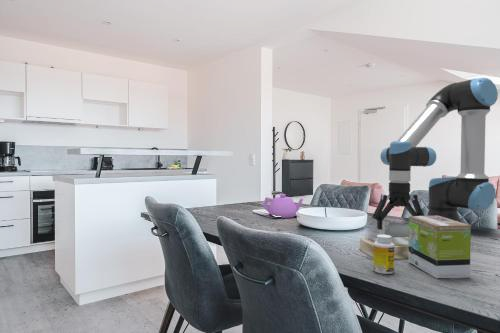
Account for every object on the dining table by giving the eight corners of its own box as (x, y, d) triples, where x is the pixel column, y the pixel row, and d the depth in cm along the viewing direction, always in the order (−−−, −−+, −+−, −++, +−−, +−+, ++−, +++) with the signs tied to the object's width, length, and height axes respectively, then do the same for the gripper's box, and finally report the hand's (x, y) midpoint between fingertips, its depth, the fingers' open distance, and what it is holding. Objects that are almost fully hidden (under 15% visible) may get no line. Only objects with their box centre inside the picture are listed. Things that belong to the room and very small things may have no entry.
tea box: (406, 263, 112) (407, 215, 111) (438, 262, 112) (438, 214, 112) (435, 279, 97) (436, 224, 96) (471, 278, 97) (472, 223, 97)
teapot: (261, 218, 192) (261, 195, 191) (263, 213, 207) (263, 192, 207) (303, 219, 189) (303, 196, 189) (302, 214, 204) (303, 192, 204)
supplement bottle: (389, 276, 99) (390, 238, 99) (370, 271, 103) (370, 236, 102) (396, 271, 103) (397, 235, 103) (377, 267, 107) (378, 232, 107)
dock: (407, 248, 129) (407, 236, 129) (429, 257, 117) (429, 244, 117) (359, 250, 126) (360, 237, 126) (377, 259, 115) (377, 246, 114)
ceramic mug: (410, 246, 132) (410, 225, 132) (386, 243, 136) (387, 223, 136) (412, 240, 142) (412, 221, 142) (389, 238, 146) (390, 219, 146)
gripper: (423, 181, 143) (422, 234, 144) (364, 181, 139) (362, 236, 140) (435, 182, 136) (434, 239, 136) (373, 182, 132) (372, 240, 133)
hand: (398, 237), depth 138 cm, fingers open, 13 cm apart
